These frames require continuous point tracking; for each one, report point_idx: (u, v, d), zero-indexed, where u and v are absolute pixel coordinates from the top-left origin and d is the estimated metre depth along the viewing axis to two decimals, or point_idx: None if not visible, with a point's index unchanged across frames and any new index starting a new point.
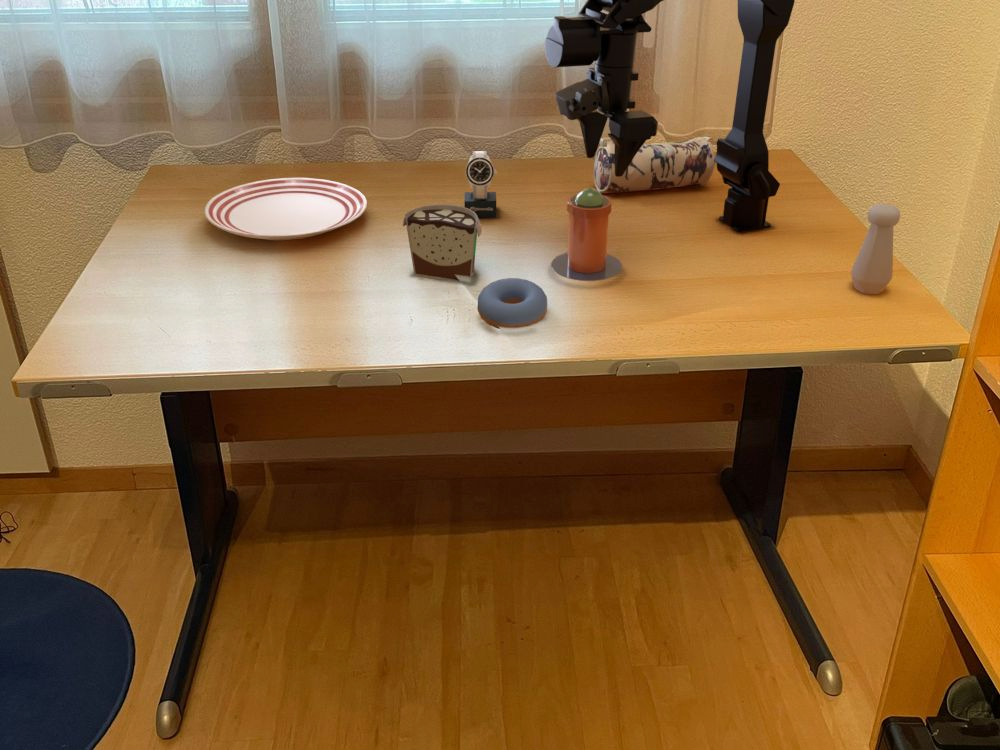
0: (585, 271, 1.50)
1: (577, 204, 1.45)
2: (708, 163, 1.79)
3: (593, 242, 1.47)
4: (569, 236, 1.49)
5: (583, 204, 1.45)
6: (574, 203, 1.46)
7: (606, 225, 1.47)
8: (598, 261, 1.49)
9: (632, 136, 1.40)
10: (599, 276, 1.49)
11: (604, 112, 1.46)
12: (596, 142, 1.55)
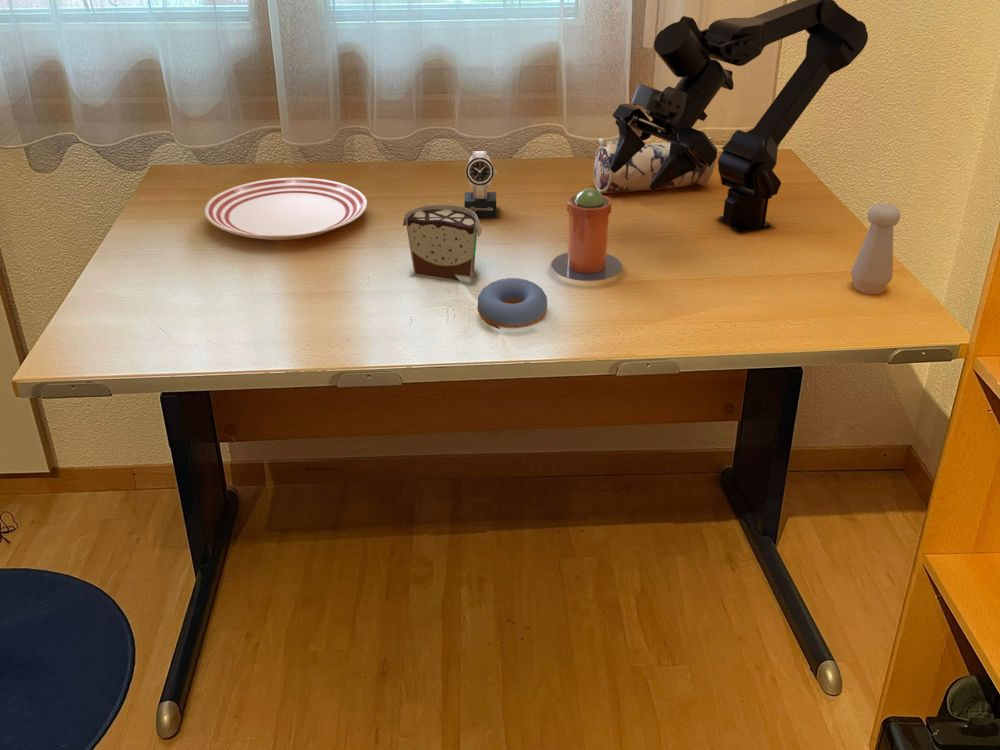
0: (585, 271, 1.50)
1: (577, 204, 1.45)
2: None
3: (593, 242, 1.47)
4: (569, 236, 1.49)
5: (583, 204, 1.45)
6: (574, 203, 1.46)
7: (606, 225, 1.47)
8: (598, 261, 1.49)
9: (699, 151, 1.42)
10: (599, 276, 1.49)
11: (665, 128, 1.47)
12: (624, 161, 1.53)
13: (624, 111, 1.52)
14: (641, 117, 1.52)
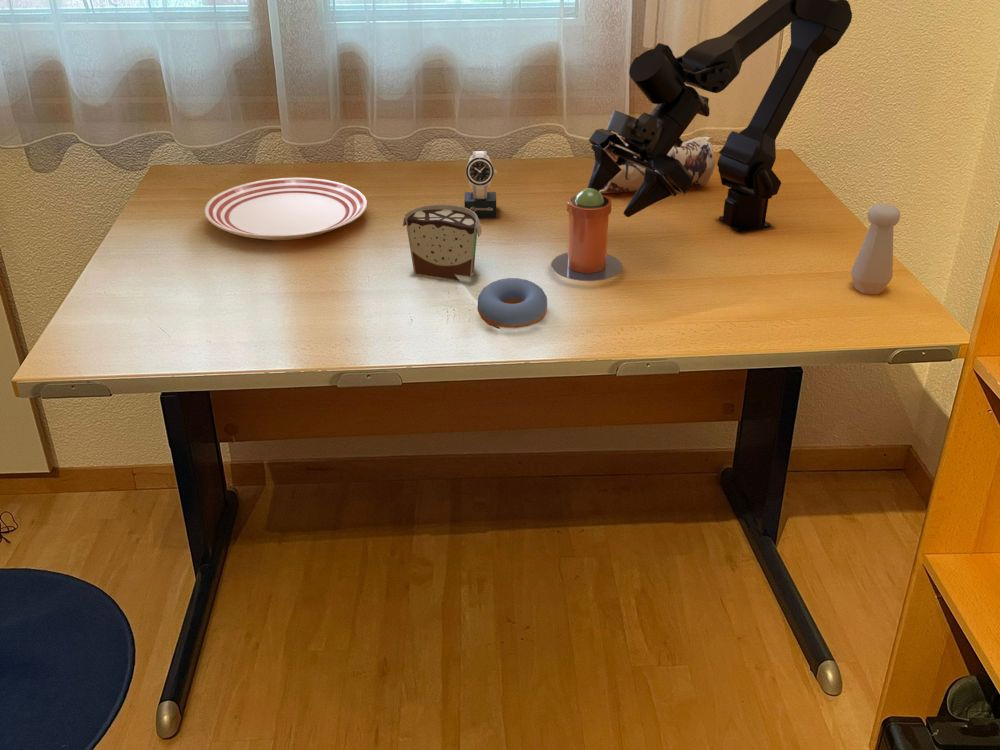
0: (585, 271, 1.50)
1: (577, 204, 1.45)
2: (708, 163, 1.79)
3: (593, 242, 1.47)
4: (569, 236, 1.49)
5: (583, 204, 1.45)
6: (574, 203, 1.46)
7: (606, 225, 1.47)
8: (598, 261, 1.49)
9: (673, 178, 1.41)
10: (599, 276, 1.49)
11: (640, 155, 1.47)
12: (599, 186, 1.53)
13: (600, 136, 1.51)
14: (617, 143, 1.52)
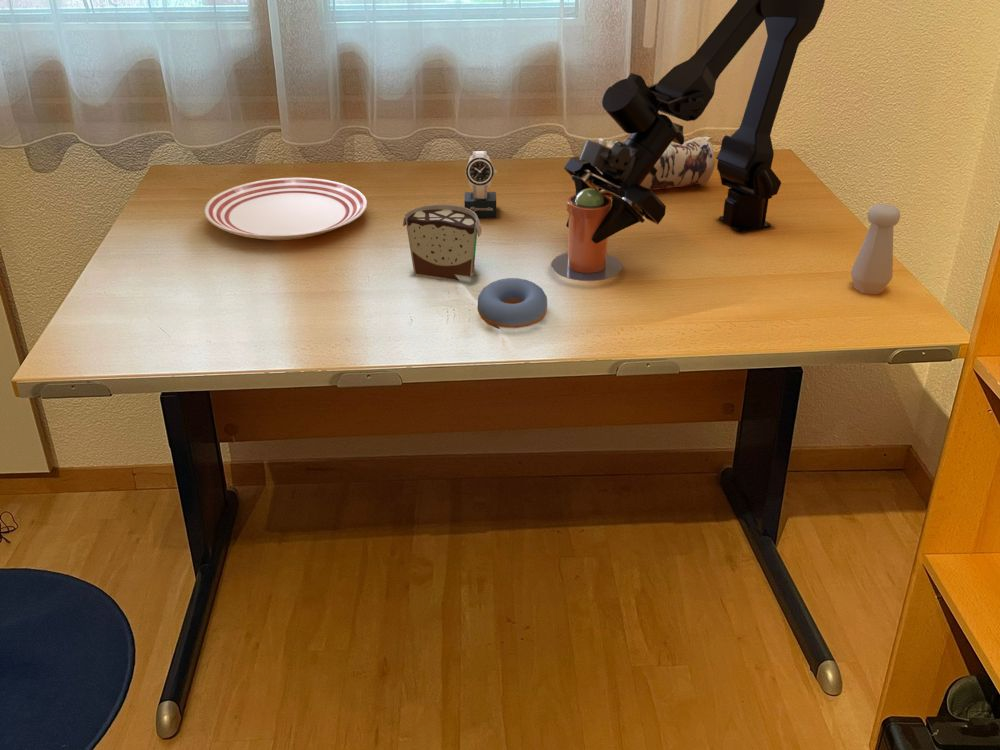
0: (585, 271, 1.50)
1: (577, 204, 1.45)
2: (708, 163, 1.79)
3: (593, 242, 1.47)
4: (569, 236, 1.49)
5: (583, 204, 1.45)
6: (574, 203, 1.46)
7: None
8: (598, 261, 1.49)
9: (646, 209, 1.41)
10: (599, 276, 1.49)
11: (620, 187, 1.46)
12: None
13: (575, 165, 1.51)
14: (592, 171, 1.52)
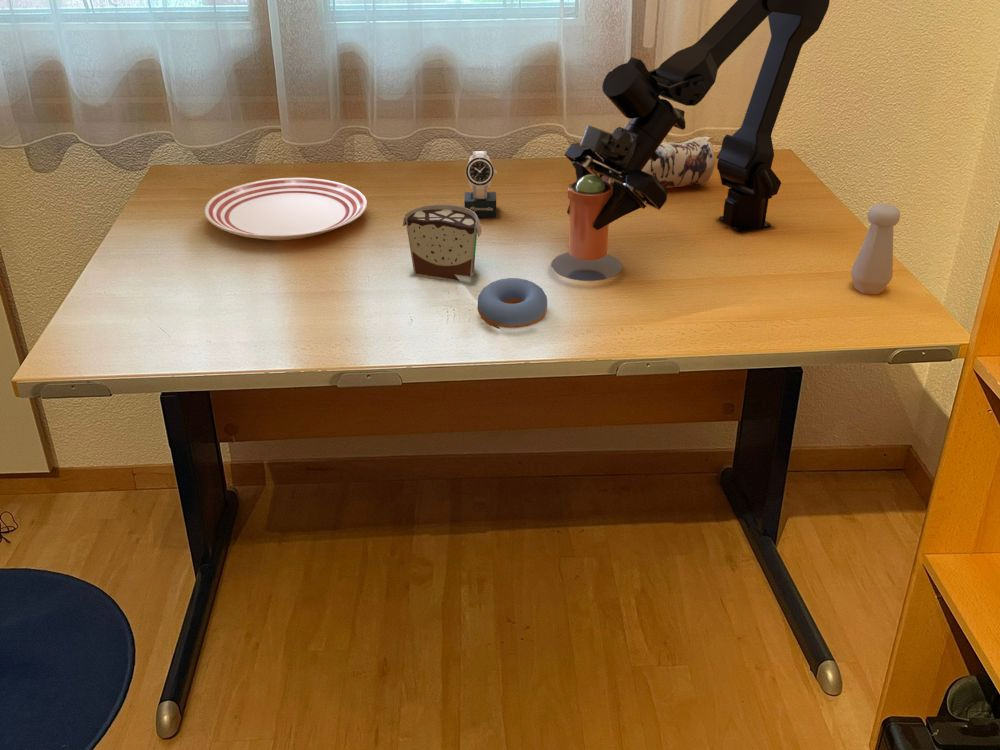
0: (586, 258, 1.48)
1: (578, 190, 1.44)
2: (708, 163, 1.79)
3: (594, 229, 1.46)
4: (570, 223, 1.48)
5: (584, 190, 1.44)
6: (575, 189, 1.45)
7: None
8: (600, 248, 1.48)
9: (648, 194, 1.40)
10: (599, 276, 1.49)
11: (621, 172, 1.44)
12: None
13: (576, 151, 1.50)
14: (593, 157, 1.50)
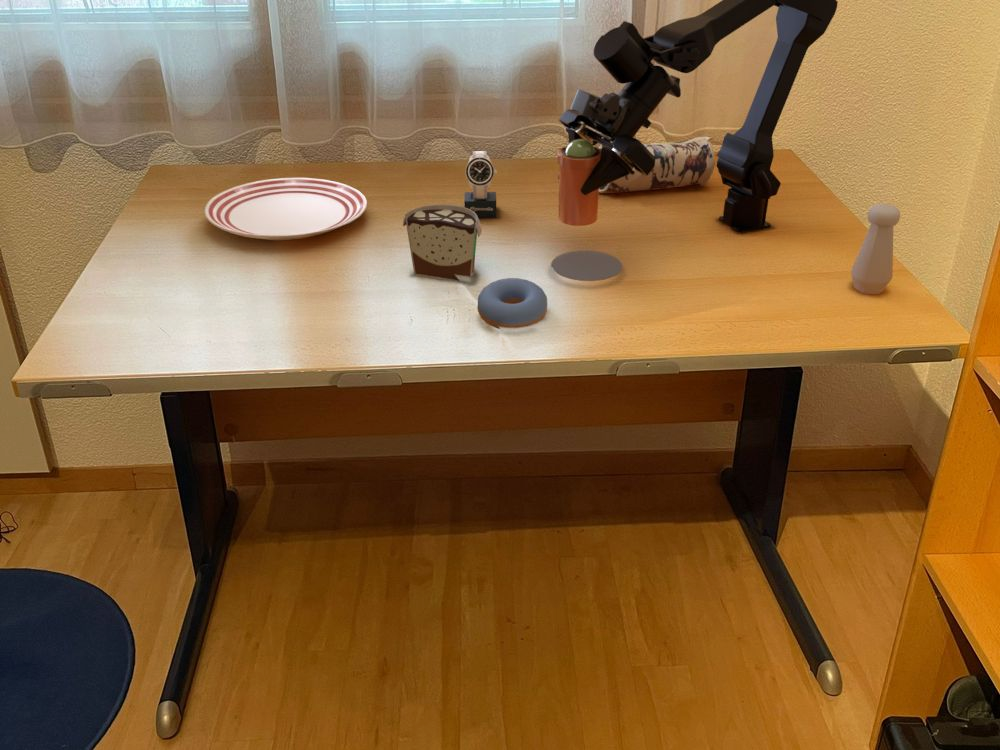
0: (575, 224, 1.48)
1: (566, 154, 1.44)
2: (708, 163, 1.79)
3: (582, 194, 1.46)
4: (559, 188, 1.48)
5: (572, 154, 1.44)
6: (564, 153, 1.45)
7: None
8: (588, 213, 1.48)
9: (634, 159, 1.39)
10: (599, 276, 1.49)
11: (611, 138, 1.44)
12: None
13: (569, 116, 1.50)
14: (586, 123, 1.50)
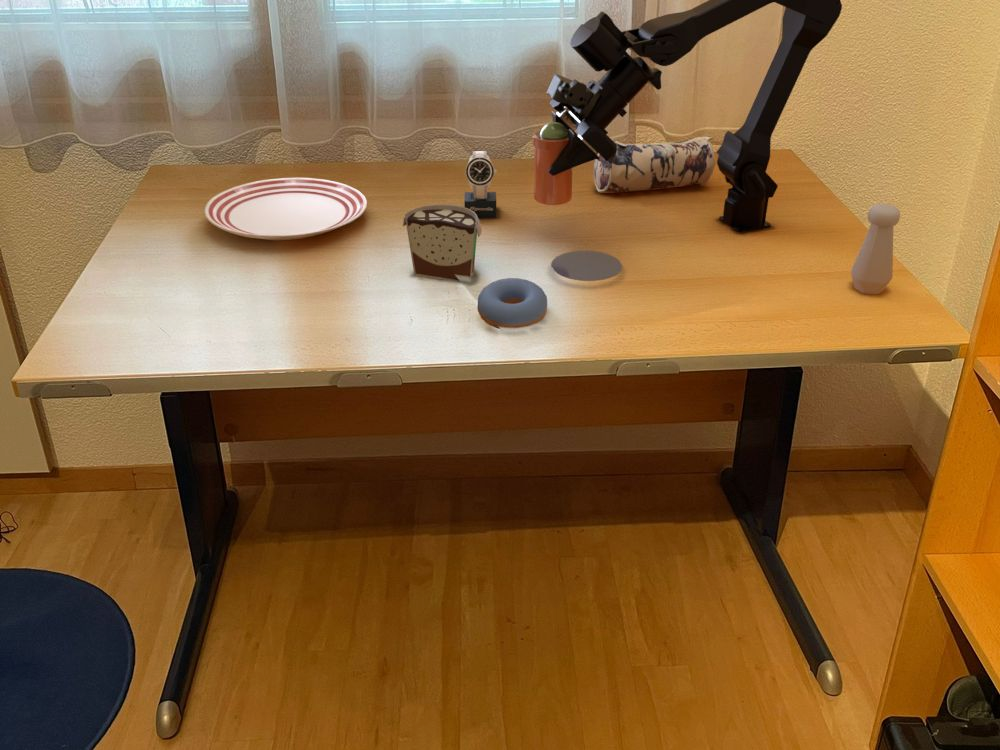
0: (544, 202, 1.56)
1: (539, 135, 1.52)
2: (708, 163, 1.79)
3: None
4: (534, 167, 1.56)
5: (543, 136, 1.51)
6: (537, 134, 1.52)
7: None
8: (557, 194, 1.55)
9: (591, 144, 1.45)
10: (599, 276, 1.49)
11: None
12: None
13: (557, 101, 1.57)
14: (572, 108, 1.57)
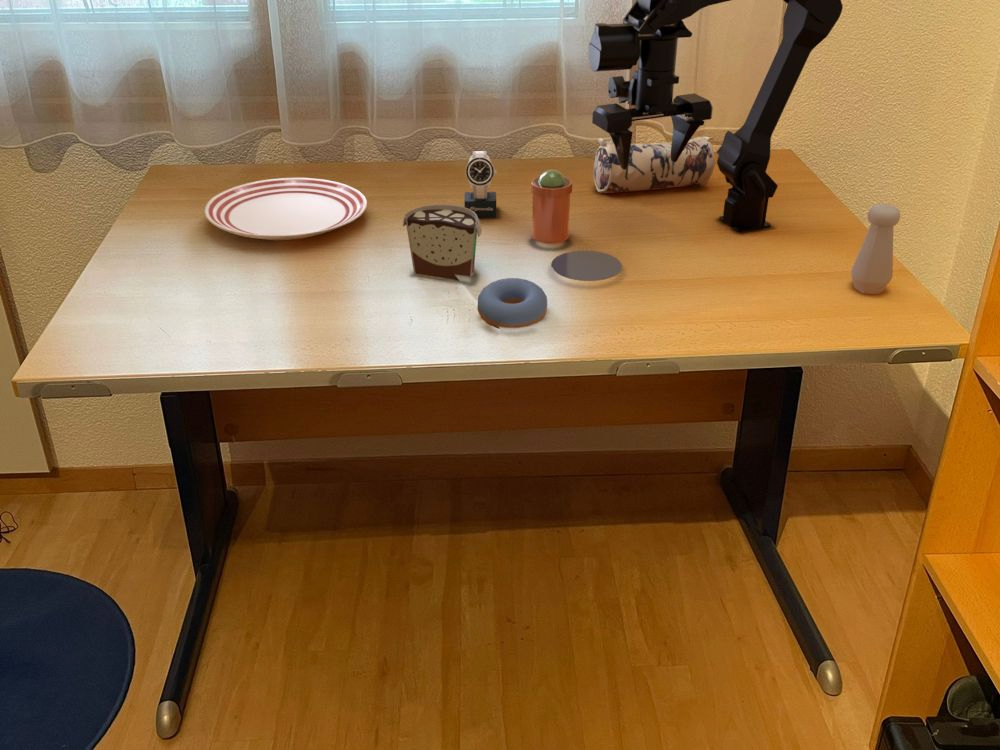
0: None
1: (537, 183, 1.56)
2: (708, 163, 1.79)
3: (548, 220, 1.57)
4: None
5: (541, 183, 1.56)
6: (535, 181, 1.57)
7: (563, 206, 1.57)
8: (555, 239, 1.59)
9: (596, 123, 1.53)
10: (599, 276, 1.49)
11: None
12: (677, 148, 1.59)
13: None
14: None
